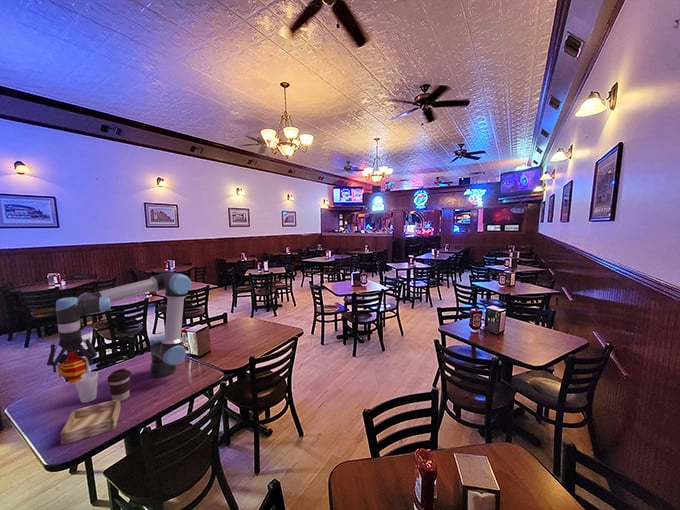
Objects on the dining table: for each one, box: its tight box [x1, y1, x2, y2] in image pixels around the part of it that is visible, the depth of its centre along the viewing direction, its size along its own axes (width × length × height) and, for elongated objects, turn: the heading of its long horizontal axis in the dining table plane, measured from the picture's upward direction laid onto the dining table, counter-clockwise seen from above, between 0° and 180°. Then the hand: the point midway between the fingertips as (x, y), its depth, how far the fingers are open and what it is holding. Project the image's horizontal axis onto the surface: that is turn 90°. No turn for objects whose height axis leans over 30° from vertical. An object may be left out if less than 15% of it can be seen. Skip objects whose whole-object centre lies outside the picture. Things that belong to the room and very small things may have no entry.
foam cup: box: [74, 371, 99, 403], centre depth 151 cm, size 10×9×13 cm
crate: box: [59, 398, 122, 446], centre depth 132 cm, size 18×18×5 cm
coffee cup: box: [106, 368, 132, 402], centre depth 152 cm, size 10×10×15 cm
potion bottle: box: [58, 349, 87, 384], centre depth 135 cm, size 10×10×15 cm
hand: (74, 374), depth 136 cm, fingers closed on potion bottle, 10 cm apart
